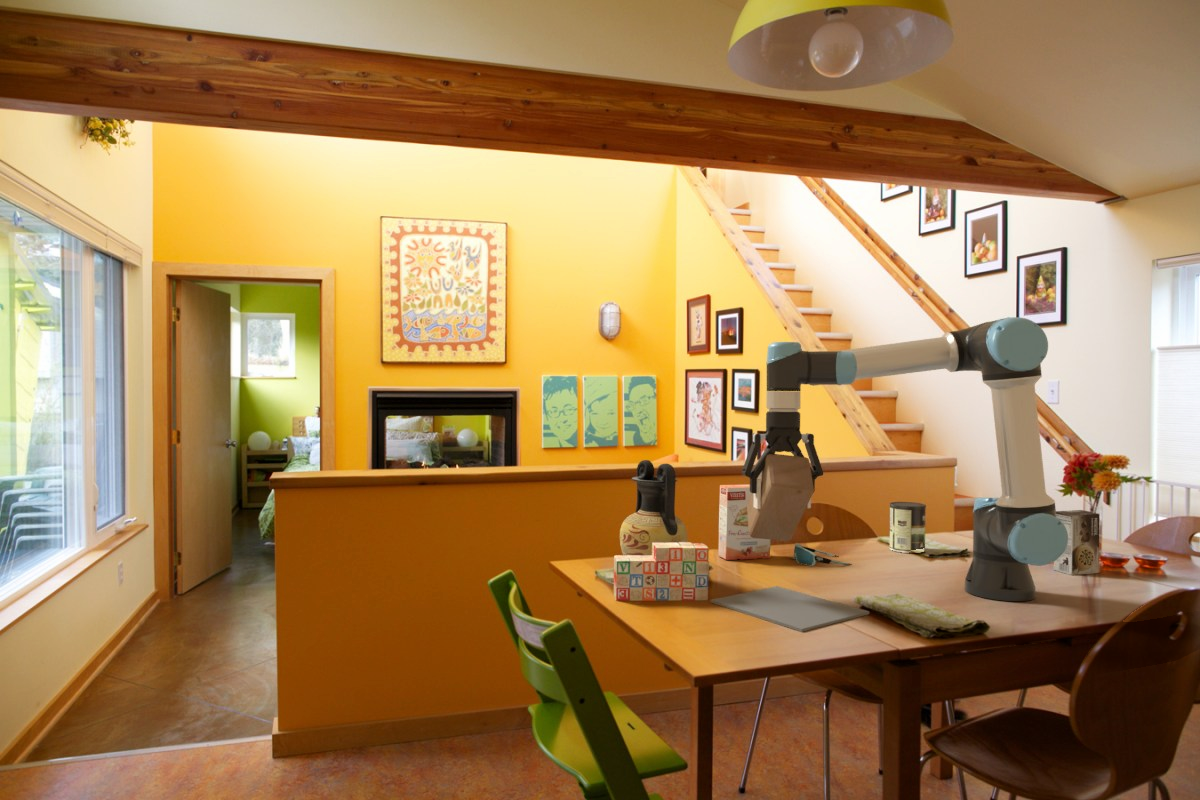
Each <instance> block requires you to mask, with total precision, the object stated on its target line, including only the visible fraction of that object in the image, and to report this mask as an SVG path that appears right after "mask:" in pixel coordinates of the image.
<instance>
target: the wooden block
mask: <svg viewBox="0 0 1200 800" xmlns="http://www.w3.org/2000/svg"><path fill="white" fill-rule="evenodd" d="M810 467H811V462H810V459H809V457H805V456H804V457H798V456H794V455H787V454H780V453H779V454H778V453H774V454H769V455H767V457H766V460H765V467H764V469H763V470H762V472H761V473H760V475H759V476H758V478H757V479H760V480H761V509H757V508H755V507H753V504H754V493H751V496H750V498H749V501H748V504H747V514H748V525H749V534H750V537H752V538H760V539H769V540H770V541H771V540H772V541H781V542H789V541H791V540H792V538H793V536H794V534H795V532H796V530H797V527H798V526H799V524H800V522H801V519H802V517H803V515H804V513H805V510H806V509H807V508H806V507H807V505H808V503H809V500H810V498H811V499H812V496H813V494H814V493H815V491H814V487H813V481H812V475H811V469H812V468H811V469H810ZM813 492H814V493H813Z"/></svg>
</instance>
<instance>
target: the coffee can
mask: <svg viewBox="0 0 1200 800" xmlns="http://www.w3.org/2000/svg"><path fill="white" fill-rule="evenodd" d="M926 508H927V505H926V504H925V503H920V502H914V501H913V502H912V501H911V502H910V501H893V502H889V548H888V549H889V550H890V551H892V550H893V551H892V552H894V551H896V552H895V553H900V552H902V553H901V554H909V552H911V550H916V549H923V548H925V549H926V510H927V509H926Z"/></svg>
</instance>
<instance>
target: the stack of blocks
mask: <svg viewBox="0 0 1200 800" xmlns="http://www.w3.org/2000/svg"><path fill="white" fill-rule="evenodd" d="M709 549H710V548H709V547H708V546H707V545H706V544H705V543H703V542H690V541H687V542H678V543H652V555H646V556H640V555H627V556H626V555H623V554H621V555H619V554H618V555H617V554H616V555H614V556H613V595H614V599H615V601H617V602H618V601H623V602H624V601H632V602H633V601H634V602H635V601H639V602H640V601H644V602H647V601H648V602H649V601H650V602H651V601H708V600H709V574H710V572H709V571H710V569H709V568H710V561H709V556H710V555H709V553H710V552H709Z"/></svg>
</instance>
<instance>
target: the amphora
mask: <svg viewBox="0 0 1200 800" xmlns="http://www.w3.org/2000/svg"><path fill="white" fill-rule="evenodd" d="M656 469H657V470H656V475H655V467H654V464H653V462H652V461H651V460H648V459H644V460H640V462H639V463H638V464H637V466H636V476H633V477H631V481H632V482H636V507H635V512H634V513H632V514H630V515H628V516H627V517H625V519H624V520H623V522H622V523H621V526H620V529H619V544H620V550H621V553H622V555H626V556H627V555H640V556H646V555H652V543H678V542H688V531H687V527H686V526H685V525H686V524H685V523H684V522H683V520H682V519H681V518H680V517H678V516H677V515H675V509H676V508H675V505H676V503H675V502H676V501H675V500H676V483H677V482H678V479H677V478H676V471H675V469H674V467H673V465H671V464H670V463H661V464H660V465H658V467H657V468H656Z"/></svg>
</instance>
